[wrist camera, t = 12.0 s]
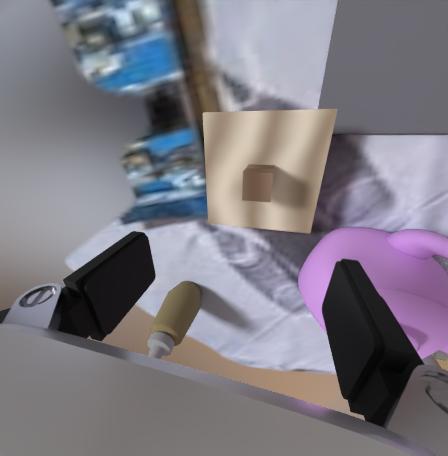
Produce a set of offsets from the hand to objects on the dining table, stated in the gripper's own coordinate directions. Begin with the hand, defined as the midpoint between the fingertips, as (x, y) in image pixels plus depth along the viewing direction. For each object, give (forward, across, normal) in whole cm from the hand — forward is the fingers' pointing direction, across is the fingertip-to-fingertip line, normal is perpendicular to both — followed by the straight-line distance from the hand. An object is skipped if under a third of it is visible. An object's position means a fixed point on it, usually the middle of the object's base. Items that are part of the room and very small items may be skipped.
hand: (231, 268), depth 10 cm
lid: (+19, 0, -1) cm, 19 cm away
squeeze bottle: (+25, +15, +28) cm, 40 cm away
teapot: (+25, -17, +14) cm, 33 cm away
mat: (+24, -14, -14) cm, 31 cm away
